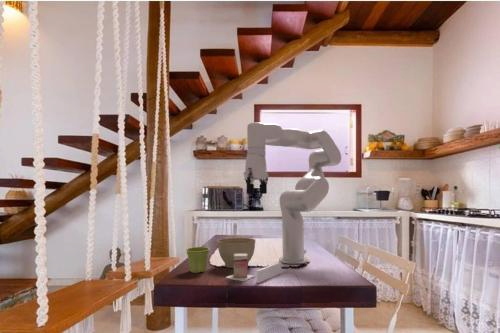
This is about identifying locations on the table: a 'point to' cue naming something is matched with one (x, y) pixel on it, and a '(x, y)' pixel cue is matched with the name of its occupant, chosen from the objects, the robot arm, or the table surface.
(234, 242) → the planter bowl
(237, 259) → the small box
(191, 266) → the plant pot
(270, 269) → the low wall
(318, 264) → the table surface
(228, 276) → the pad
